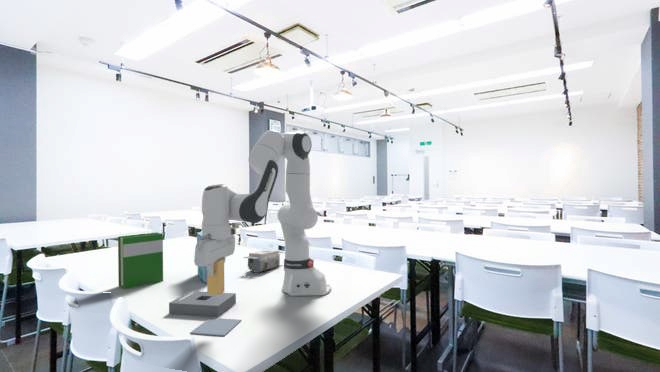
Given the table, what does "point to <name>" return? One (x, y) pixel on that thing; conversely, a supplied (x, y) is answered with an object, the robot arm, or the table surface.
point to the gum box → (202, 269)
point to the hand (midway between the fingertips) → (216, 273)
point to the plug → (216, 279)
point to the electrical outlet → (263, 260)
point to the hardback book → (140, 259)
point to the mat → (216, 327)
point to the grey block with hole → (202, 304)
